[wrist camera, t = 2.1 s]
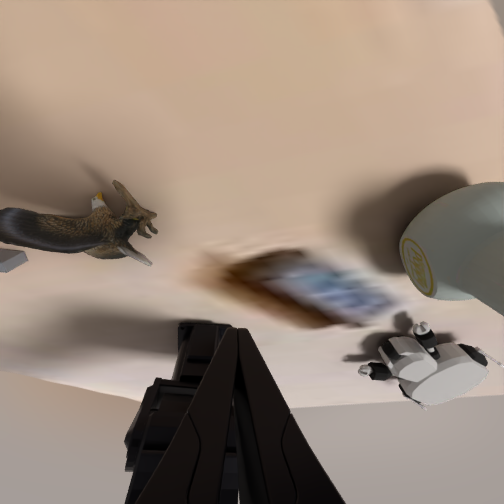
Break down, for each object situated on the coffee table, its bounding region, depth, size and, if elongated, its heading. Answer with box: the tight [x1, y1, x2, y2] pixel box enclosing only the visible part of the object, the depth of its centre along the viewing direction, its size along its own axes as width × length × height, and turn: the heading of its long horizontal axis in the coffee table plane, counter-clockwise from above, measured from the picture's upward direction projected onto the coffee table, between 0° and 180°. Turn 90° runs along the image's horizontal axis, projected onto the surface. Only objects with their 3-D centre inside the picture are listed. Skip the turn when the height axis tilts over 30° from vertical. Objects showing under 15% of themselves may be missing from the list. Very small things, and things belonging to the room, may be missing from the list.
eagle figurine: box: [0, 180, 158, 266], centre depth 15 cm, size 8×7×9 cm
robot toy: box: [358, 321, 504, 410], centre depth 29 cm, size 12×4×15 cm
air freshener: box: [399, 182, 504, 316], centre depth 16 cm, size 11×8×10 cm
